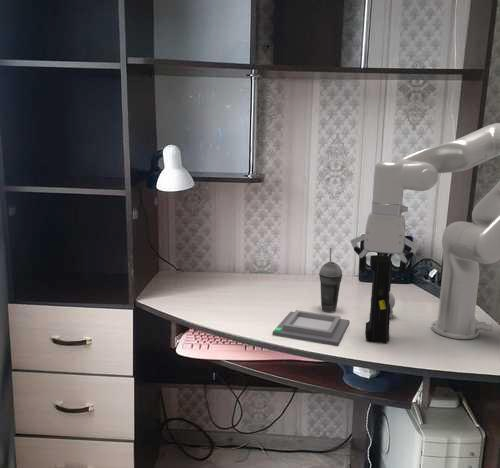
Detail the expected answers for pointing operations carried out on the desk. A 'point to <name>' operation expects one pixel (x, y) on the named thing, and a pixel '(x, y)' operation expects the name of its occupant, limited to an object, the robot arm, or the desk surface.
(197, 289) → the desk surface
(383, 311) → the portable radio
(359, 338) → the desk surface
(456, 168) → the robot arm
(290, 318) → the charging dock
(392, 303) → the chubby cartoon animal
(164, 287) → the desk surface
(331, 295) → the beverage cup
